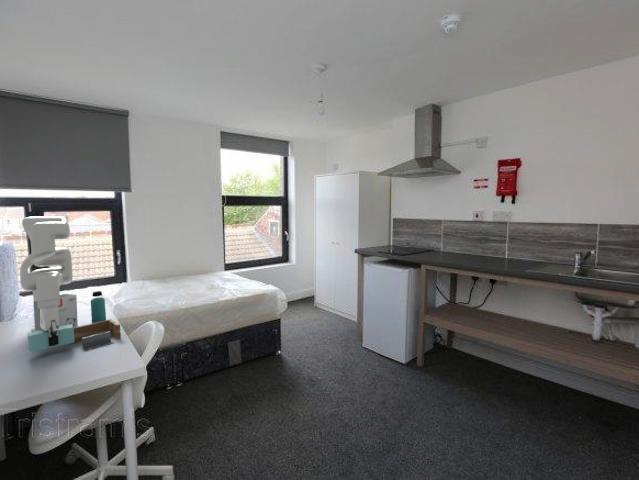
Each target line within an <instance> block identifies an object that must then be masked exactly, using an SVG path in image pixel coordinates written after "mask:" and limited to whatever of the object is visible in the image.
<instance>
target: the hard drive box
mask: <svg viewBox="0 0 639 480" xmlns="http://www.w3.org/2000/svg"><path fill="white" fill-rule="evenodd" d="M77 298H78V296H77V294H72V293H71V294H70V293H63V294H60V305H59V306H58V315H59V326H65V325H70V324H72V326H73V327H78V326H79V324H78V322H79V321H78V302H77V301H78V299H77ZM33 318H34V319H33V320H34V326H35V331H39V330H43V329H42V328H41V327H40V308H38V302H37V301H34V300H33Z"/></svg>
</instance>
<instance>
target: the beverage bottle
mask: <svg viewBox="0 0 639 480" xmlns="http://www.w3.org/2000/svg"><path fill="white" fill-rule="evenodd" d="M92 297H93V298H92V299H91V300H90V313H91V314H90V316H91V324H92V323H96V322H101V321H105V320H107V312H106V311H107V310H106V299H105V298H104V297H103V292H102V291H101V290H97V291H92Z"/></svg>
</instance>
